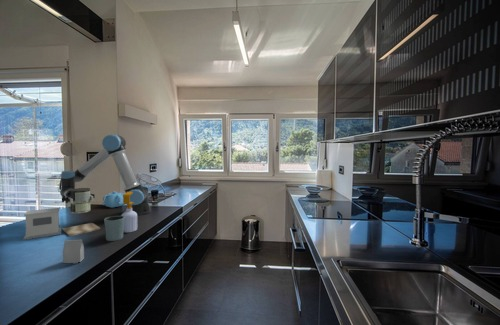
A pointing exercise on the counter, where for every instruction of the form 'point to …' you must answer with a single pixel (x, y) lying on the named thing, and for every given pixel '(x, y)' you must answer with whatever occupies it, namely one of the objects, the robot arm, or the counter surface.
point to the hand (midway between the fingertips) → (82, 199)
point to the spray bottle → (129, 215)
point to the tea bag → (73, 251)
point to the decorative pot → (113, 199)
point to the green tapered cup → (114, 228)
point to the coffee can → (80, 200)
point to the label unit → (42, 223)
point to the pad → (80, 229)
